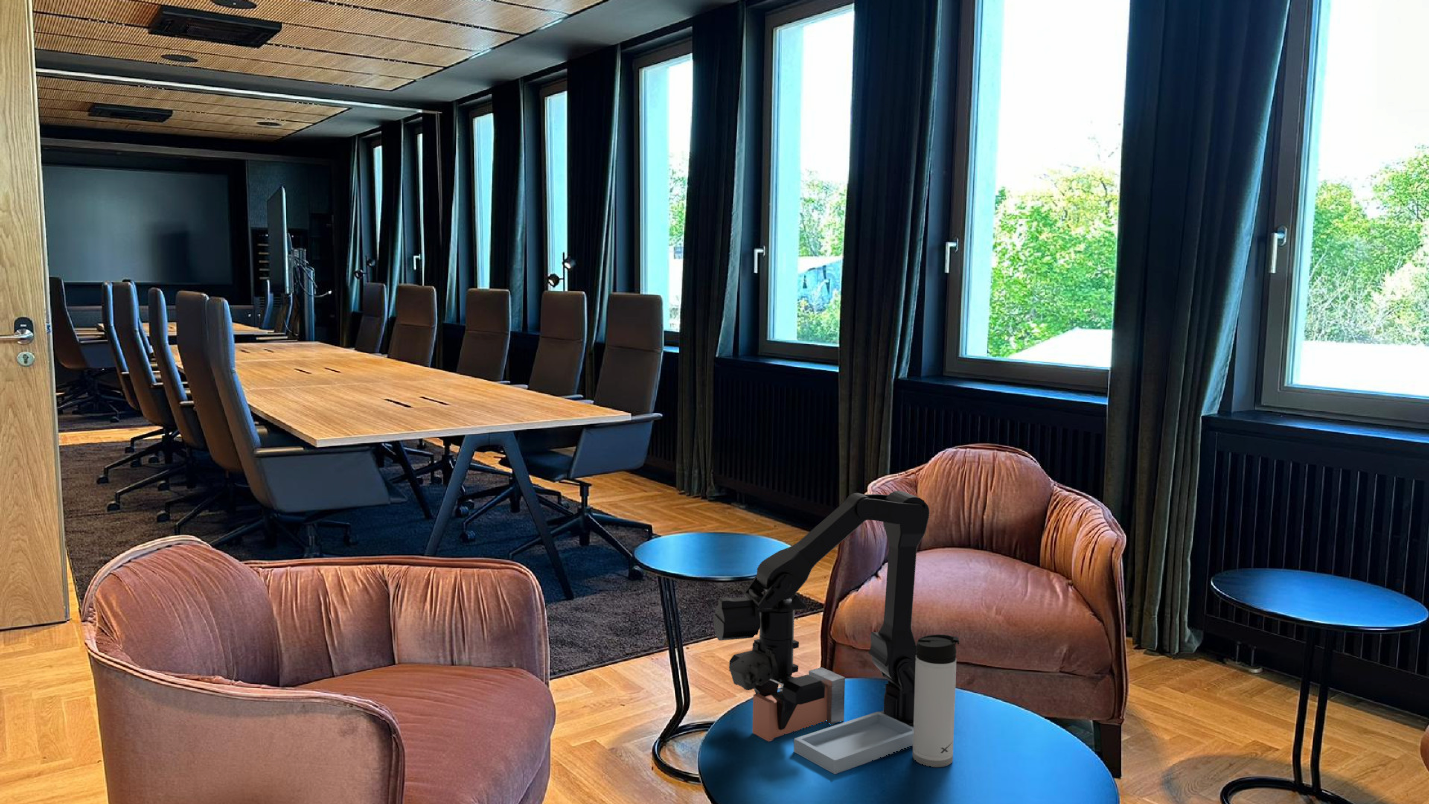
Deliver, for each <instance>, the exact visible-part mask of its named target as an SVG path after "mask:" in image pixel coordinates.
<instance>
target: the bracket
mask: <svg viewBox="0 0 1429 804" xmlns="http://www.w3.org/2000/svg"><path fill="white" fill-rule="evenodd" d="M808 675H810V676H812V677H814V678H816V679H818V680H820V681H822V682H823V683H825V684H827V685H828V692H827V721H826V723H827V722H828V723H830V724H831V725H830V724H829V725H830V726H833V725H835V724H834V723H837V722H840V721H841V722H840V723H843V722H845V696H846V693H845V692H846V677H845V676H843V675H840V674H837V673H835V672H834V671H832V670H829V669H826V668H824V667H817V668H814V669H811V670H808ZM842 721H843V722H842ZM828 723H827V724H828ZM832 724H833V725H832ZM837 724H838V723H837Z"/></svg>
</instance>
